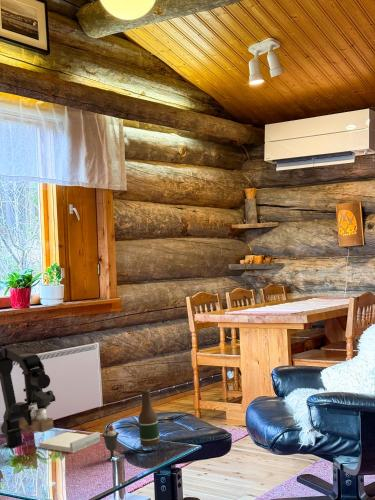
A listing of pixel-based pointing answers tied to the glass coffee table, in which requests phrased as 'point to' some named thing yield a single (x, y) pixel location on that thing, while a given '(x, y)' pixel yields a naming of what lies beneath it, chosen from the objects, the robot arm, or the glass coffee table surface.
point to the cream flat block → (70, 442)
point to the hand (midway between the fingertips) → (36, 423)
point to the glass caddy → (37, 421)
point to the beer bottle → (148, 421)
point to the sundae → (110, 440)
